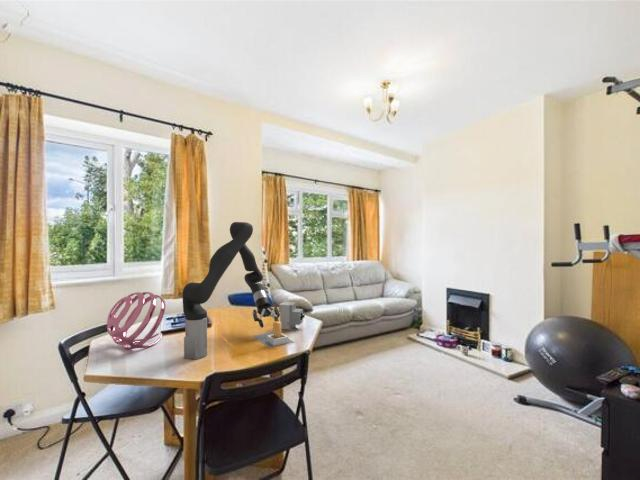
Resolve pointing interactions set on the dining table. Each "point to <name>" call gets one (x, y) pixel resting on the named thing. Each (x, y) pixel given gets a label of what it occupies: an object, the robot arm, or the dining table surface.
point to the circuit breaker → (290, 315)
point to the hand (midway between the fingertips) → (270, 325)
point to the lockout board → (272, 339)
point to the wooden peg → (276, 329)
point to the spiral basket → (121, 333)
